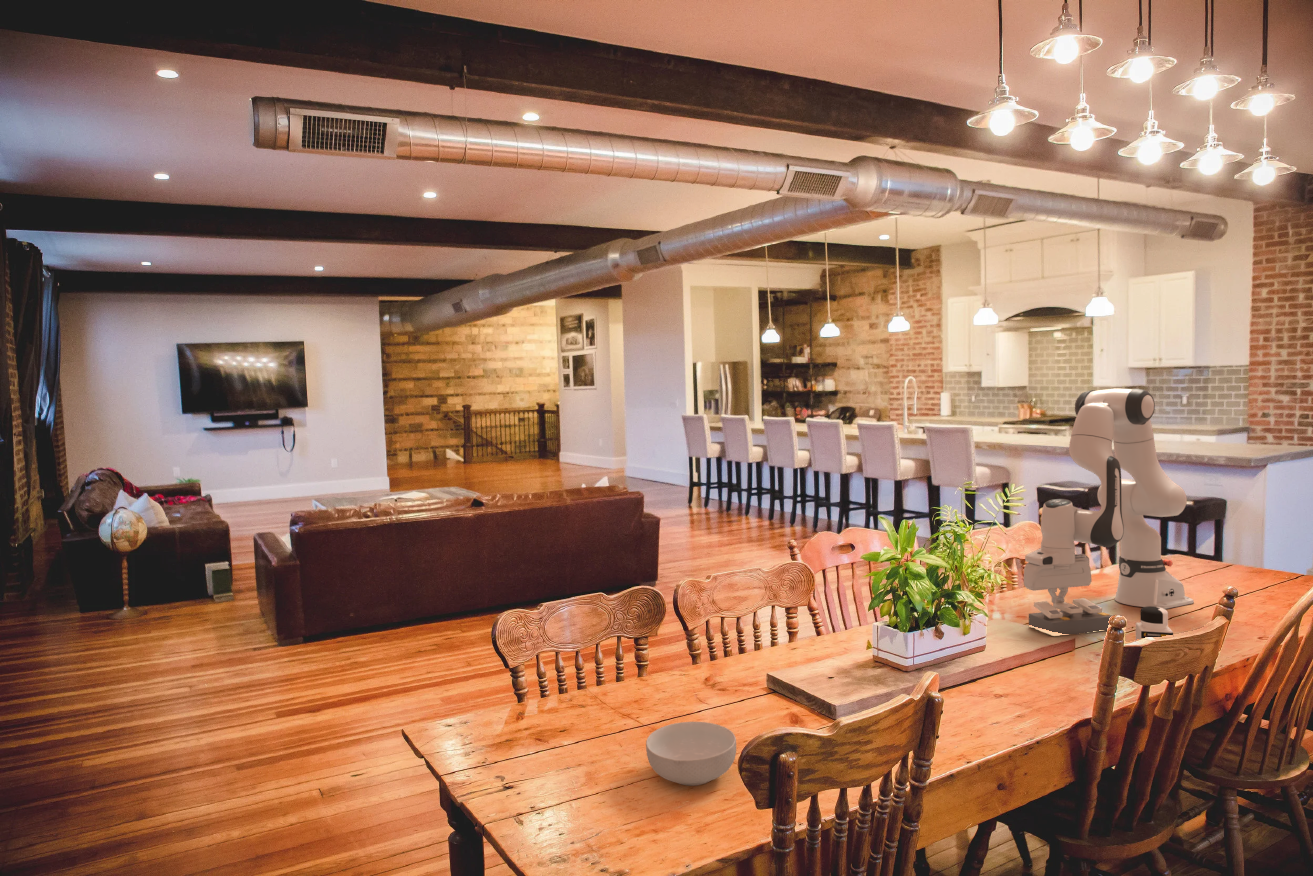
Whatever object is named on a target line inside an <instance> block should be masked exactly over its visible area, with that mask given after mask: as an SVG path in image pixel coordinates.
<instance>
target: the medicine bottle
mask: <svg viewBox="0 0 1313 876" xmlns="http://www.w3.org/2000/svg"><path fill="white" fill-rule="evenodd" d="M1139 617H1140V622H1138V621H1137V622H1135V641H1136V640H1137V639H1141V638H1145V637H1162V636H1166V635H1173V636H1174V631H1173V630H1172V629H1171V628H1170V627H1169V611H1167V609H1163V608H1160V607H1153V606H1147V607H1141V608H1140V616H1139Z"/></svg>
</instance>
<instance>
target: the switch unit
mask: <svg viewBox="0 0 1313 876" xmlns="http://www.w3.org/2000/svg"><path fill="white" fill-rule="evenodd" d="M1058 610H1059V609H1058ZM1059 611H1060V612H1061V613H1063V616H1062V617H1061V618H1052V619H1050V618H1048V617H1047V616H1046V615H1044V614H1043V613H1042V612H1041V611H1039V612H1032V613H1028V626H1029V625H1032V626H1034V627H1038V628H1042V629H1046V630H1049V631H1052V632H1058V633H1062V634H1076V635H1080V634H1079V633H1085V634H1088V633H1087V632H1093V631H1099V630H1105V631H1104V632H1107V631H1106V630H1107V628H1108V625H1109V623H1108V621H1109V618H1110V617H1111V616H1113V615H1112V614H1109V613H1107V612H1104V611H1102V612H1099V613H1088V612H1087V611H1085V610H1083V612H1081V613H1071V614H1070V613H1068V612H1065V611H1062V610H1059ZM1093 633H1094V632H1093Z"/></svg>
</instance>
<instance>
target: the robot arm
mask: <svg viewBox="0 0 1313 876" xmlns="http://www.w3.org/2000/svg"><path fill="white" fill-rule="evenodd" d="M1155 404H1156V403H1155V399H1154V397H1153V395H1152V394H1151V393H1150V392H1149V391H1148V390H1145V389H1141V388H1132V389H1131V388H1117V387H1116V388H1114V387H1113V388H1111V389H1110V388H1107V389H1099V390H1098V389H1097V390H1094V389H1091V390H1087V391H1086V390H1085V391H1084V392H1082V393H1080V395H1078V397H1077V398H1076V399H1075V403H1074V412H1075V416H1076V417H1075V419H1074V420H1075V421H1074V423H1073V427H1072V429H1071V435H1070V441H1069V444H1068V446H1069V447H1068V452H1069V456H1070V458H1071V460H1072V461H1073V462H1074V464H1076V465H1078V466H1079V467H1081V468H1082V469H1084V470H1087V471H1089V472H1091V473H1093V474H1094V475H1096V476H1097V477H1098V478H1099V480H1100V486H1099V487H1098V490H1097V494H1096V495H1097V500H1098V503H1099V504H1100V509H1099V510H1092V509H1091V510H1090V509H1083V508H1079V507H1076V506H1075V505H1073V502H1072V501H1071V500H1069V499H1066V498H1056V499H1055V498H1054V499H1049V500H1047V501H1045V502H1044V503H1043V505H1042V506H1043V507H1042V510H1041V517H1040V518H1041V519H1040V530H1041V531H1040V532H1041V535H1042V536H1041V537H1042V539H1041V542H1040V548H1038V549H1036V550H1033V551H1032V552H1030V553H1027V554H1026V555H1025V556H1024V557H1025V558H1024V560H1025V562H1027V563H1026V564H1025V566H1024V568H1023V585H1024V587H1025V588H1026V589H1028V590H1030V591H1044V590H1046V591H1047V592H1048V593H1049V595H1050V597H1051V603H1052V604H1053V603H1055V604H1056V603H1064V602H1065V598H1066V595H1067V594H1068V592H1069V588H1079V587H1089V586H1090V585H1091V584H1092V580H1093V579H1092V571H1091V566H1090V558H1089V556H1088V555H1087V554H1085V553H1079V554H1077V553H1076V545H1075V542H1078V543H1084V544H1090V545H1094V546H1098V547H1103V548H1111V547H1113V546H1115V545H1117V544H1118V543H1119V542H1120V543H1119V546H1120V556H1119V557H1118V569H1119V576H1118V580H1117V581H1118V582H1117V587H1116V588H1117V589H1116V592H1115V597H1114V601H1116V602H1117V603H1120V604H1124V605H1127V606H1134V607H1141V608H1143V607H1147V606H1153V607H1160V608H1163V609H1165V610H1167V609H1171V608H1177V607H1181V606H1186V605H1191V604H1194V603H1195V602H1194V599H1193V598H1191V597H1189V596H1186V595H1185V594H1186V593H1185V587H1184V584H1183V583H1182V582H1181V580H1179V579H1178V578H1176V577H1175V576H1173V575H1172V574H1171V573H1170V572H1168V571H1167V568H1166V566H1167V567H1169V568H1170V567H1172V565H1174V564H1173V563H1174V562H1173V561H1172V560H1171V559H1167V558H1166V559H1164V560H1163V558H1162V537H1161V535H1160V533H1159V531H1157V529H1155V528H1153V527H1152V526H1151V525H1150V524H1148V522H1147V521H1146V520H1145V518H1144V516H1149V517H1159V518H1163V517H1165V518H1167V517H1174V516H1175V517H1176V516H1179V515H1180V514H1182V513H1183V511H1184V510H1185V508H1186V507H1187V506H1186V505H1187V501H1188V499H1187V494H1186V492H1185V490H1184V489H1183V487H1181V486H1180V485H1179V484H1177V483H1175V482H1174V481H1173V480H1172V479H1171V478H1170V477H1169V476H1168V475H1167V474H1166V472H1165V471H1164V469H1163V468H1162V466H1161V464H1160V462H1159V460H1158V453H1157V449H1156V443H1155V436H1154V435H1155V434H1154V430H1153V425H1152V421H1151V418H1152V417H1153V415H1154V413H1155V407H1156V406H1155ZM1112 447H1113V448H1112ZM1113 450H1114V454H1113ZM1121 470H1124V472H1127V473H1128V474H1129V475H1130V476H1131V477H1132V478H1133V479H1131V478H1130V479H1129V478H1122V471H1121ZM1058 590H1059V593H1058ZM1057 593H1058V595H1057Z"/></svg>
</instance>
